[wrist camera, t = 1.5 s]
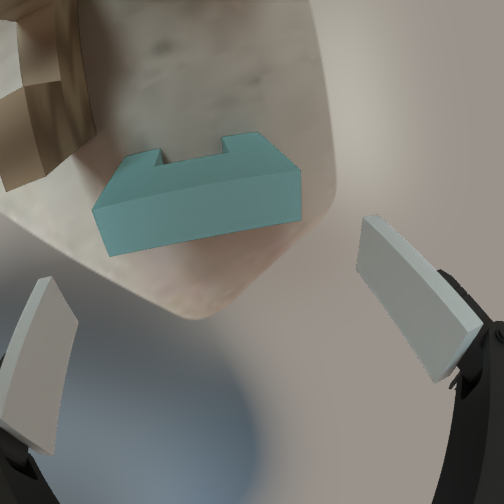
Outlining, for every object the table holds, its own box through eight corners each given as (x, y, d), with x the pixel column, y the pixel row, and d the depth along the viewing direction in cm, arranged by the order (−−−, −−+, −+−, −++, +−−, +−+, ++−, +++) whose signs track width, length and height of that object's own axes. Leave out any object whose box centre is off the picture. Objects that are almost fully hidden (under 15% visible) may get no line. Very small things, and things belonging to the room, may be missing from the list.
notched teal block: (133, 189, 23) (109, 256, 15) (125, 156, 22) (91, 209, 13) (260, 165, 25) (301, 220, 16) (257, 132, 23) (300, 170, 15)
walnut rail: (44, -19, 10) (-18, -45, 2) (76, -33, 11) (24, -72, 2) (65, 144, 19) (6, 192, 11) (96, 134, 20) (45, 176, 12)
